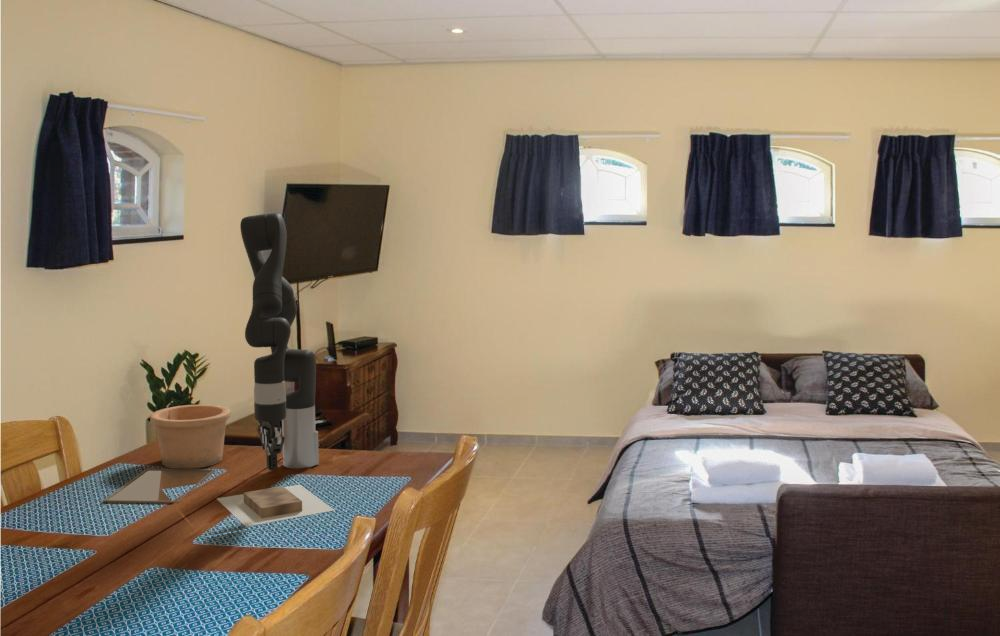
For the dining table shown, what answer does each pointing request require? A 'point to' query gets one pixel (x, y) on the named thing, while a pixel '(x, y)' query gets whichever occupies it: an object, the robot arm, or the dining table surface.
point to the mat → (250, 518)
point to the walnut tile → (272, 502)
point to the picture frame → (157, 485)
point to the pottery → (190, 435)
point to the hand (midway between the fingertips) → (272, 469)
